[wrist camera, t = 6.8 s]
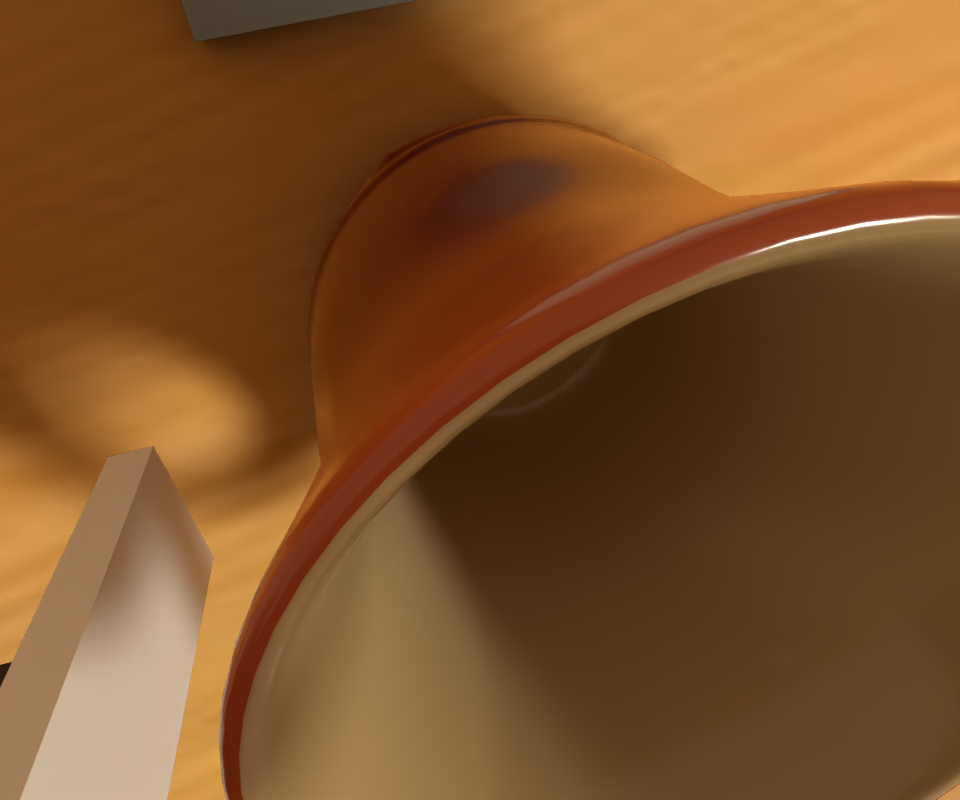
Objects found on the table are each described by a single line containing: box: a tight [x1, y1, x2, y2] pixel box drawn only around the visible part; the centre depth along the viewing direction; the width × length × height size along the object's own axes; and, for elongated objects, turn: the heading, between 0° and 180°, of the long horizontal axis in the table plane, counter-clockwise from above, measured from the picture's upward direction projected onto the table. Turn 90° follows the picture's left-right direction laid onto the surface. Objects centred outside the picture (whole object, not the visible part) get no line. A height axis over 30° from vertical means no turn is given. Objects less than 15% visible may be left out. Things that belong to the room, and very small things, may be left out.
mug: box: [219, 116, 960, 800], centre depth 11 cm, size 12×9×10 cm
